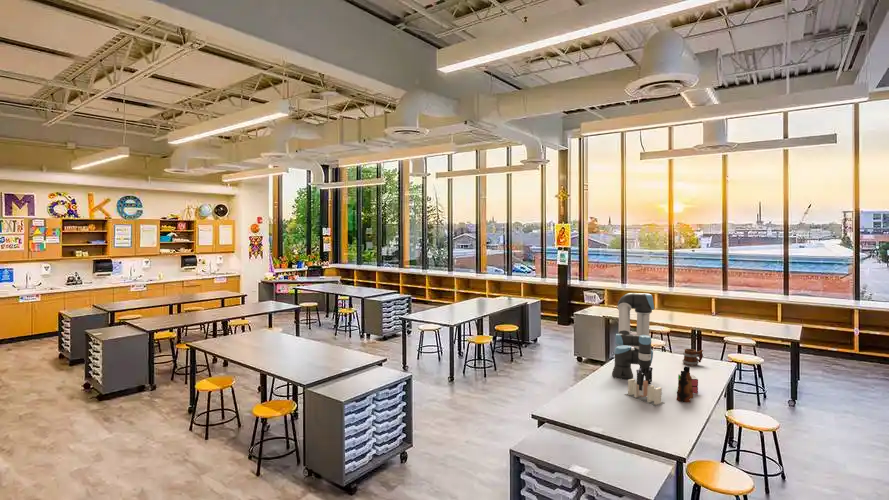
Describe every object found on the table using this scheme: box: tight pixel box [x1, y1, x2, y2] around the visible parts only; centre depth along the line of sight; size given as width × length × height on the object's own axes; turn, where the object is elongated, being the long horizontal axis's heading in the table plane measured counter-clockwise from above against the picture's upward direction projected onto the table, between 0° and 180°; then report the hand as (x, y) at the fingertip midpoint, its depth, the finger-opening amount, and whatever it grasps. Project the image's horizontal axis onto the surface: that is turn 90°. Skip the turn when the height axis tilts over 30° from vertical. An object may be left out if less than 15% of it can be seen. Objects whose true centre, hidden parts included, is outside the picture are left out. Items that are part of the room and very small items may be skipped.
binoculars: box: [675, 365, 694, 404], centre depth 311 cm, size 18×8×20 cm, turn 143°
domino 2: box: [634, 380, 641, 397], centre depth 315 cm, size 2×5×10 cm, turn 121°
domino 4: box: [654, 387, 663, 405], centre depth 302 cm, size 2×5×10 cm, turn 121°
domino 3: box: [647, 384, 656, 402], centre depth 306 cm, size 2×5×10 cm, turn 121°
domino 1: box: [627, 378, 636, 395], centre depth 319 cm, size 2×5×10 cm, turn 120°
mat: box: [624, 393, 665, 407], centre depth 311 cm, size 24×10×1 cm, turn 30°
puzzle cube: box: [677, 373, 699, 394], centre depth 326 cm, size 10×10×10 cm
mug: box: [682, 348, 704, 367], centre depth 389 cm, size 12×14×15 cm
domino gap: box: [641, 380, 648, 397], centre depth 310 cm, size 2×5×10 cm, turn 120°
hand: (644, 394), depth 310 cm, fingers closed on domino gap, 5 cm apart
